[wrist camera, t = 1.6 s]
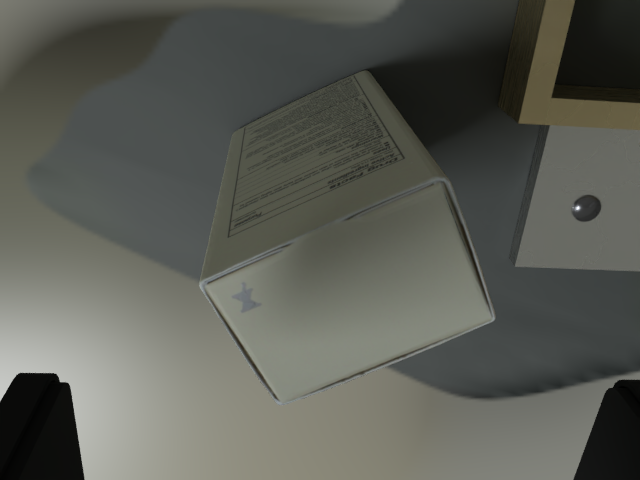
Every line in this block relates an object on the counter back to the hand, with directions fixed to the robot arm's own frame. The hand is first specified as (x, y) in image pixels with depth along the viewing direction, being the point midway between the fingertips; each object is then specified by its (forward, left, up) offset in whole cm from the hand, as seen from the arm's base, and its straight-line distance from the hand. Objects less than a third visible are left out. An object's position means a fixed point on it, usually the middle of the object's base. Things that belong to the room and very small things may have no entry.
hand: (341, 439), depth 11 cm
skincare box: (0, 0, -16) cm, 16 cm away
